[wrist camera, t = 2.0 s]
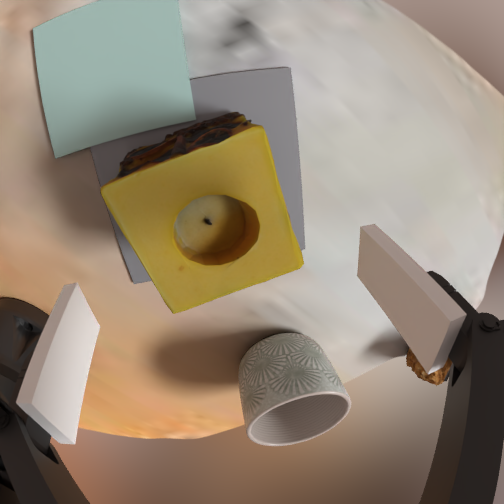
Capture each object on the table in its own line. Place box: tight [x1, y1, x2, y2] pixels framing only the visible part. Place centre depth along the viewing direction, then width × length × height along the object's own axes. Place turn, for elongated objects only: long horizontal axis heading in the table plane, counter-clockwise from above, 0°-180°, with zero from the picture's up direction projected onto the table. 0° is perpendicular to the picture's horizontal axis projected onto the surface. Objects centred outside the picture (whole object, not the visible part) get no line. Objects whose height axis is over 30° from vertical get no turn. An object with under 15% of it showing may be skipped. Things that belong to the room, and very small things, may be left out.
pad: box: [33, 0, 196, 159], centre depth 20 cm, size 13×13×1 cm
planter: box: [238, 333, 351, 446], centre depth 35 cm, size 12×12×11 cm
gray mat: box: [90, 68, 305, 284], centre depth 26 cm, size 18×18×1 cm
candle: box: [101, 112, 304, 314], centre depth 22 cm, size 10×10×10 cm
